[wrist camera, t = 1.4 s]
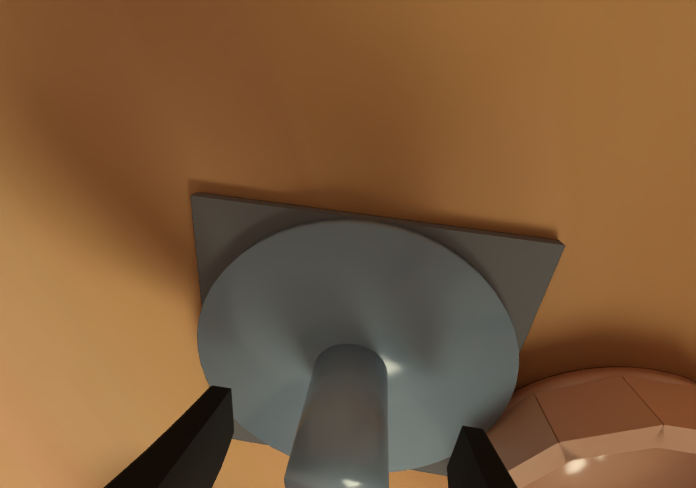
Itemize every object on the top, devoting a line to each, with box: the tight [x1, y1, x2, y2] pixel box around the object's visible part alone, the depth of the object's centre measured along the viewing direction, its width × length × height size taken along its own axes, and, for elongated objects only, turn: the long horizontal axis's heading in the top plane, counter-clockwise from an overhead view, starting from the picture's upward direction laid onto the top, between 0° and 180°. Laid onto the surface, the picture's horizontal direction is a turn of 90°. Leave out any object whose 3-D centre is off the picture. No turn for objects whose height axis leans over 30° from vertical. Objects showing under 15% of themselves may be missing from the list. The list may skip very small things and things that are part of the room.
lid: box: [197, 218, 519, 488], centre depth 11 cm, size 12×12×5 cm
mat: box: [190, 192, 565, 476], centre depth 13 cm, size 12×12×1 cm
